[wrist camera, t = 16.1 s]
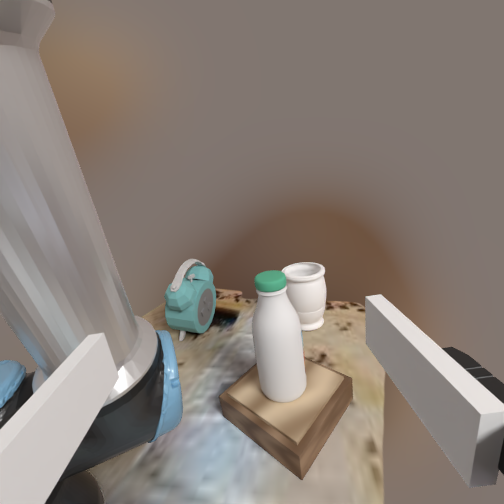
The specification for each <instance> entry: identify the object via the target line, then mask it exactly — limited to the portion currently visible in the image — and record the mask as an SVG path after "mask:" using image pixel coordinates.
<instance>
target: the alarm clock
mask: <svg viewBox="0 0 504 504" xmlns="http://www.w3.org/2000/svg"><path fill="white" fill-rule="evenodd" d="M193 263H195V264H196V265H198V266H194V267H191V268H190V269H189V270H188V271H187V273H186V276H185V278H183V277H184V274H185V272H186V270H187V268H189V267H190V266H191V265H192V264H193ZM164 297H165V299H166V306H165V317H166V320H167V324H168V325H169V326H170V327H171V328H172V329H176V330H180V335H179V341H183V339H184V338H185V334H186V331H188V332H194V333H204V332H205V331H206V330H207V329H208V327H209V325H210V324H211V322H212V319H213V315H214V312H215V306H216V292H215V287H214V285H213V275H212V273H211V271H210V269H208V268H206V267H205V265H204V263H203V262H200V261H199V260H195V259H189V260H187V261H186V262H184V263H183V264H182V265H181V267H180V269H179V270H178V272H177V274H176V276H175V278H174V281H173V283H172V284H170V285H169V287H168V289H167V291H166V293H165V296H164Z"/></svg>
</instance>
